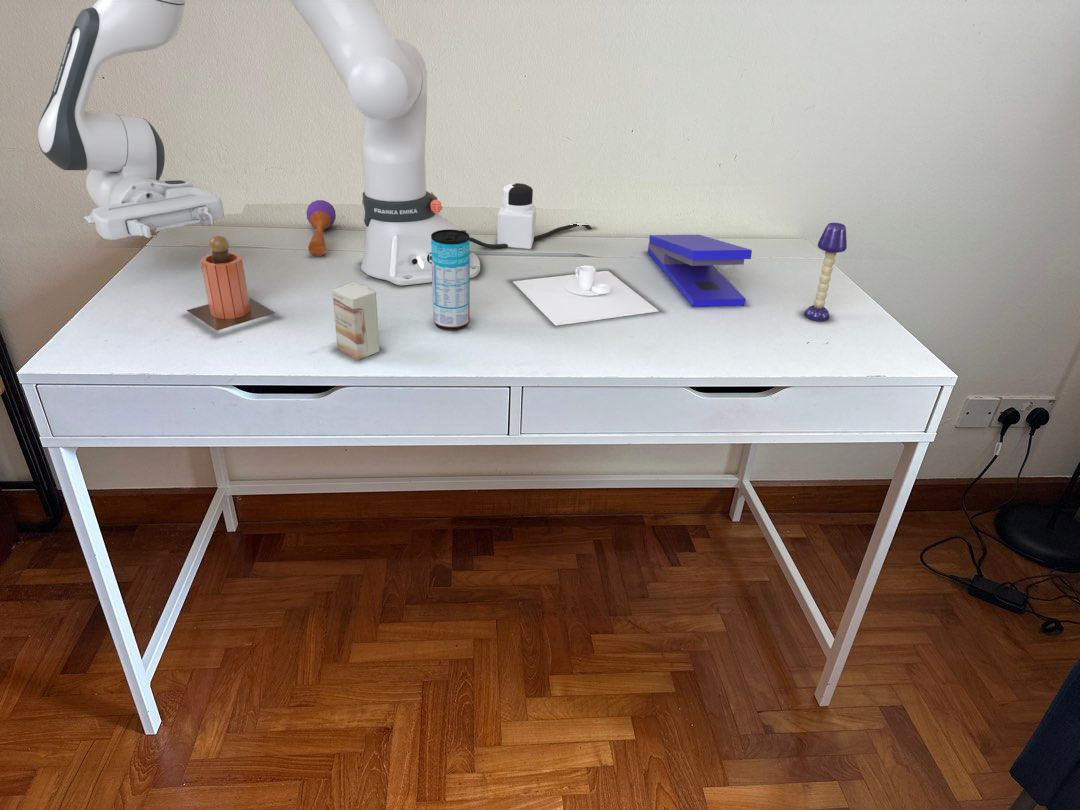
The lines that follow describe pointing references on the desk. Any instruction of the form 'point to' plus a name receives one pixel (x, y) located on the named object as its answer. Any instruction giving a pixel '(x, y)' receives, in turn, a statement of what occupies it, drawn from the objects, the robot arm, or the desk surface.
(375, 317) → the white product box
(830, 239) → the toy lamp
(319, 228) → the kendama
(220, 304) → the orange slatted tube
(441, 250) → the beverage can
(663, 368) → the desk surface
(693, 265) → the stapler
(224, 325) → the holder
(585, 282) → the teacup and saucer
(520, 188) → the medicine bottle
